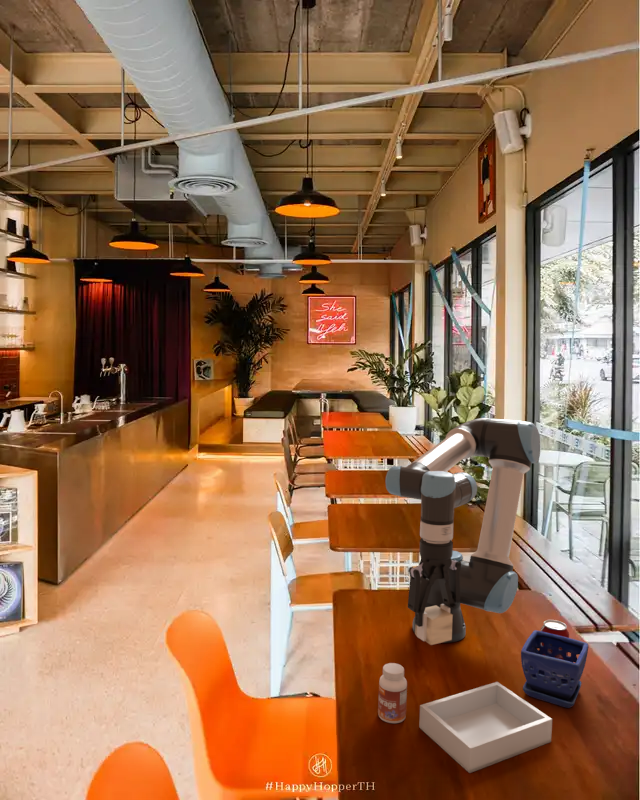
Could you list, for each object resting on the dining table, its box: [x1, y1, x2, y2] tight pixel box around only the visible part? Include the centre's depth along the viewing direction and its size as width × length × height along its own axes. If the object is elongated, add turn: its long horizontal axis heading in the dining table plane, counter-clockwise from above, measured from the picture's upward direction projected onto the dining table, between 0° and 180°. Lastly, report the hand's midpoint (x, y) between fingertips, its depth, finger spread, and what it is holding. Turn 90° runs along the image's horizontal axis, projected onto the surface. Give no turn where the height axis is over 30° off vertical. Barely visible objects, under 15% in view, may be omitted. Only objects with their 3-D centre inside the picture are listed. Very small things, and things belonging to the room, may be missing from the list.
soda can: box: [540, 619, 570, 660], centre depth 157 cm, size 7×7×12 cm
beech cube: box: [414, 605, 453, 646], centre depth 143 cm, size 6×6×6 cm
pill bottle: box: [377, 662, 408, 724], centre depth 136 cm, size 6×6×11 cm
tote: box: [418, 681, 553, 774], centre depth 130 cm, size 16×22×5 cm
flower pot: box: [520, 629, 589, 709], centre depth 146 cm, size 13×13×12 cm
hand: (433, 635), depth 144 cm, fingers closed on beech cube, 6 cm apart
